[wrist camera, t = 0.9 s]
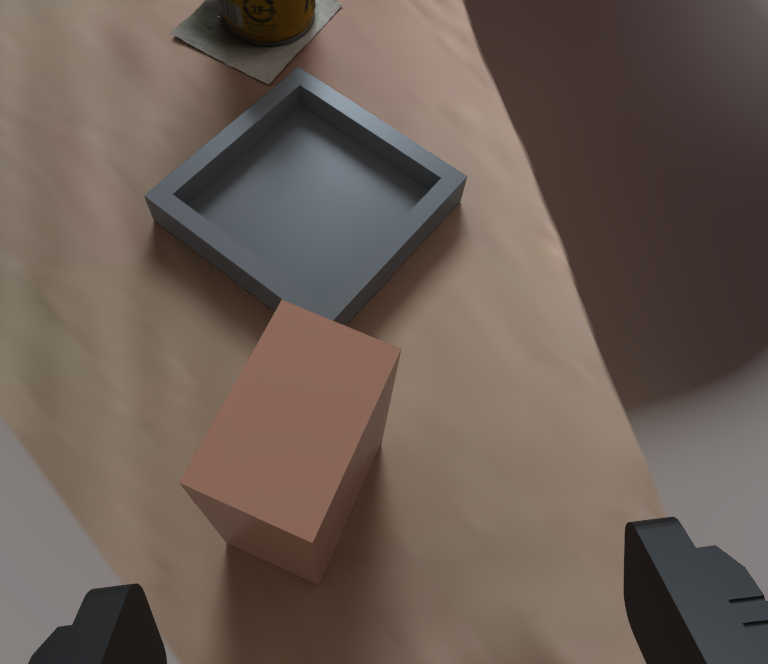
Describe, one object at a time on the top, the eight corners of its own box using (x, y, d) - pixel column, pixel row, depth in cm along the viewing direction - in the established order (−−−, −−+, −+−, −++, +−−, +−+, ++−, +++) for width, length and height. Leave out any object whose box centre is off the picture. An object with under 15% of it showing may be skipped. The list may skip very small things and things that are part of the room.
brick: (226, 543, 32) (179, 482, 22) (296, 407, 35) (281, 299, 25) (318, 585, 31) (312, 543, 21) (381, 443, 34) (401, 348, 24)
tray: (153, 220, 39) (144, 195, 37) (299, 94, 43) (298, 66, 41) (324, 349, 36) (323, 330, 34) (460, 200, 41) (467, 176, 39)
